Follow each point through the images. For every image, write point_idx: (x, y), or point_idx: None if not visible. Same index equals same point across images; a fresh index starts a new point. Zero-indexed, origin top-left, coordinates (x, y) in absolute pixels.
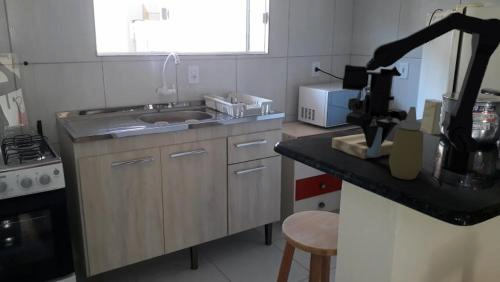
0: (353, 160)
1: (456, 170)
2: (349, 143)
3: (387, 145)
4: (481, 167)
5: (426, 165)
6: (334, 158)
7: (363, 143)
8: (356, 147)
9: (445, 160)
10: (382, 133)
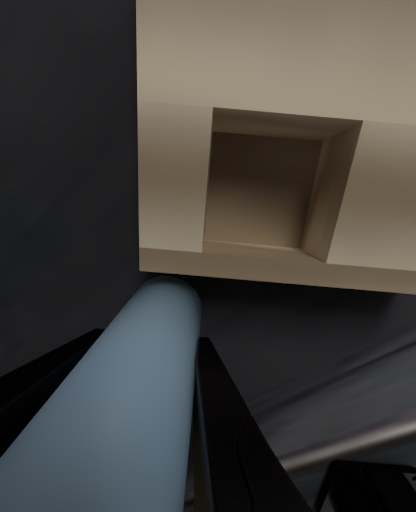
0: (93, 239)
1: (322, 505)
2: (146, 86)
3: (367, 289)
4: None
5: (318, 425)
6: (13, 156)
7: (307, 121)
8: (141, 190)
9: (375, 491)
10: (199, 498)
